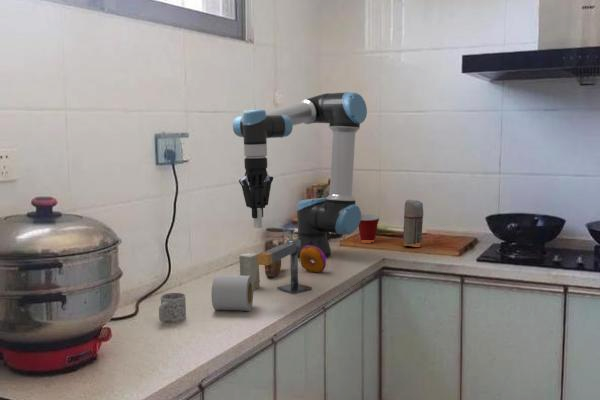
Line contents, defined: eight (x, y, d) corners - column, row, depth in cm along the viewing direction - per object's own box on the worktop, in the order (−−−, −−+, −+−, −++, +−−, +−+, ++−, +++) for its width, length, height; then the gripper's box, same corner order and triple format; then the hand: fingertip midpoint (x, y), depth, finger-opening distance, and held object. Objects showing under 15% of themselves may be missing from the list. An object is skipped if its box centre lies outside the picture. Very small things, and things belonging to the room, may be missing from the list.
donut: (317, 268, 235) (317, 241, 234) (328, 274, 227) (328, 246, 226) (297, 270, 232) (297, 243, 231) (307, 276, 224) (307, 248, 223)
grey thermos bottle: (411, 243, 280) (411, 198, 277) (426, 246, 273) (426, 200, 271) (398, 246, 274) (398, 200, 272) (413, 249, 268) (414, 202, 266)
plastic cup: (352, 244, 280) (352, 217, 279) (358, 239, 290) (358, 213, 289) (377, 245, 277) (377, 218, 275) (382, 240, 287) (382, 214, 285)
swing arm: (290, 248, 208) (290, 238, 208) (303, 249, 206) (302, 239, 206) (255, 264, 186) (255, 253, 186) (269, 265, 184) (269, 254, 184)
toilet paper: (212, 314, 182) (210, 279, 181) (221, 304, 192) (220, 271, 191) (246, 315, 181) (245, 280, 179) (253, 304, 191) (253, 272, 189)
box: (260, 287, 210) (259, 254, 209) (252, 290, 207) (251, 256, 205) (247, 285, 213) (247, 252, 212) (239, 287, 210) (238, 254, 208)
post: (295, 284, 213) (295, 248, 211) (311, 289, 207) (311, 251, 205) (277, 289, 207) (276, 251, 206) (293, 294, 201) (292, 255, 200)
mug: (170, 314, 182) (169, 291, 181) (190, 317, 180) (189, 293, 179) (149, 325, 173) (148, 301, 172) (170, 327, 170) (170, 303, 169)
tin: (272, 279, 220) (271, 255, 219) (263, 279, 221) (262, 255, 220) (282, 269, 235) (281, 247, 234) (273, 269, 235) (273, 246, 234)
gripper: (263, 155, 218) (266, 223, 221) (232, 157, 209) (235, 228, 212) (278, 156, 212) (280, 226, 215) (246, 158, 203) (249, 231, 207)
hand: (258, 227), depth 214 cm, fingers closed
